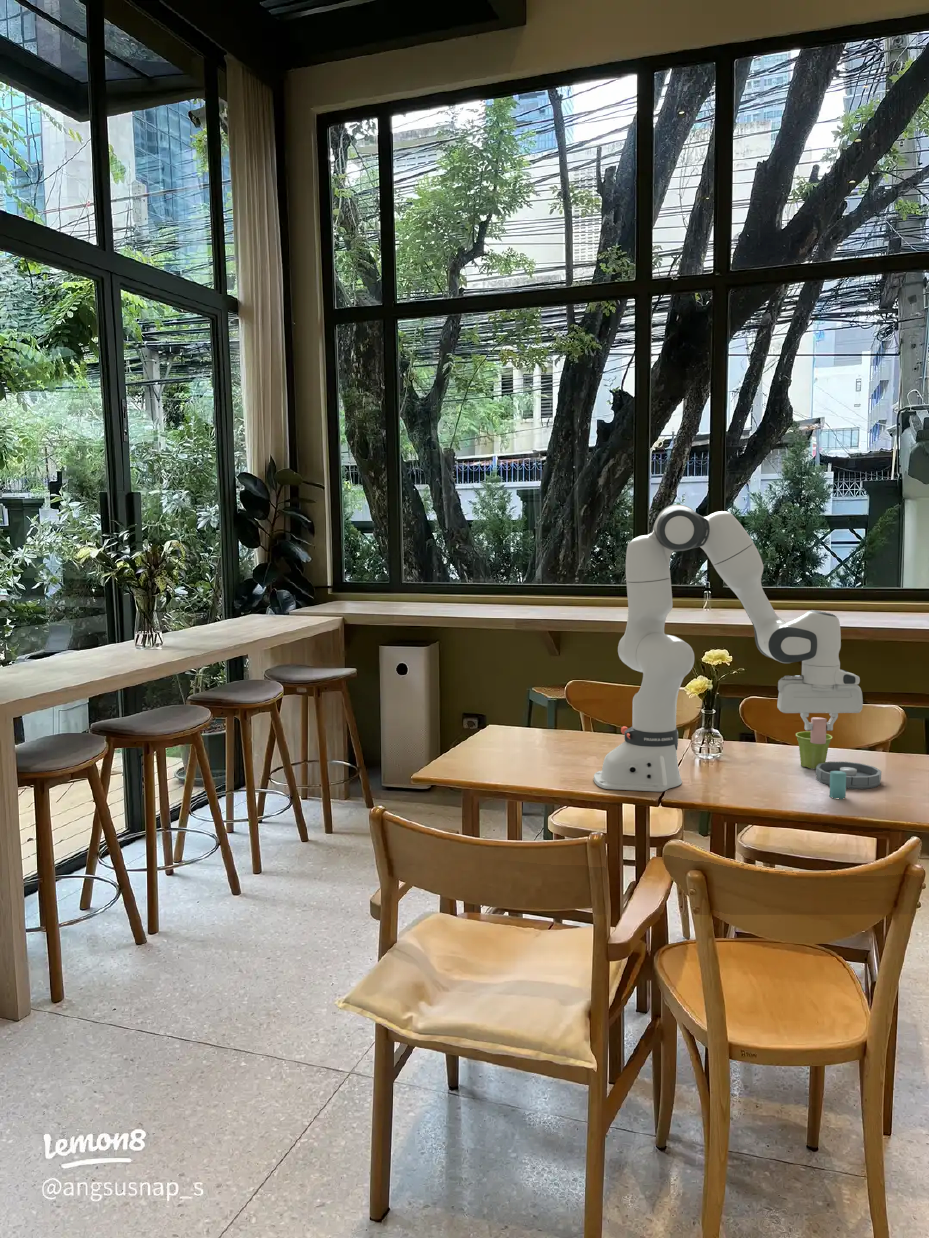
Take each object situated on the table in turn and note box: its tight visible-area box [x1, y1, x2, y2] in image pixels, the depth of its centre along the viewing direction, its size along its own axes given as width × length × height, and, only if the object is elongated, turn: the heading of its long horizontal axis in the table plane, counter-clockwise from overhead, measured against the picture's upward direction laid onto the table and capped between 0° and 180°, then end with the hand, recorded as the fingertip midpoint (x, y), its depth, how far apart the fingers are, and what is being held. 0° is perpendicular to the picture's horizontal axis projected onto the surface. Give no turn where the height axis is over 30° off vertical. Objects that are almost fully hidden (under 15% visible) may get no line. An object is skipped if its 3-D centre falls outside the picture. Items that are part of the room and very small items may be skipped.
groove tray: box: [815, 761, 882, 790], centre depth 235 cm, size 15×15×3 cm
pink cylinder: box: [810, 716, 828, 744], centre depth 228 cm, size 4×4×6 cm
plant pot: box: [795, 730, 833, 770], centre depth 249 cm, size 9×9×9 cm
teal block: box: [829, 771, 847, 800], centre depth 221 cm, size 4×4×6 cm
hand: (818, 730), depth 228 cm, fingers closed on pink cylinder, 4 cm apart
